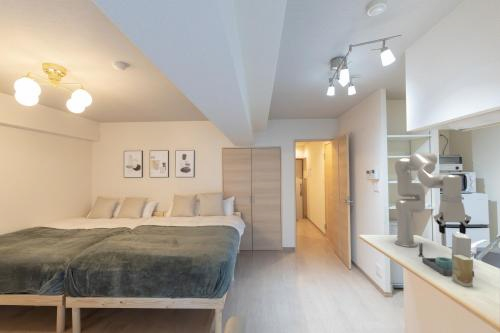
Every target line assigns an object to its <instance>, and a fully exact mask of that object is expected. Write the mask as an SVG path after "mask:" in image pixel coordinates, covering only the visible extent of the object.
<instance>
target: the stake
mask: <svg viewBox="0 0 500 333" xmlns="http://www.w3.org/2000/svg"><path fill="white" fill-rule="evenodd" d="M418 245H419V248H418V250H419V254H417V255H418V257H420V258H425V256H424V255H423V254H424V253H423V249H424V248H423V242H419V244H418Z"/></svg>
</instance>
